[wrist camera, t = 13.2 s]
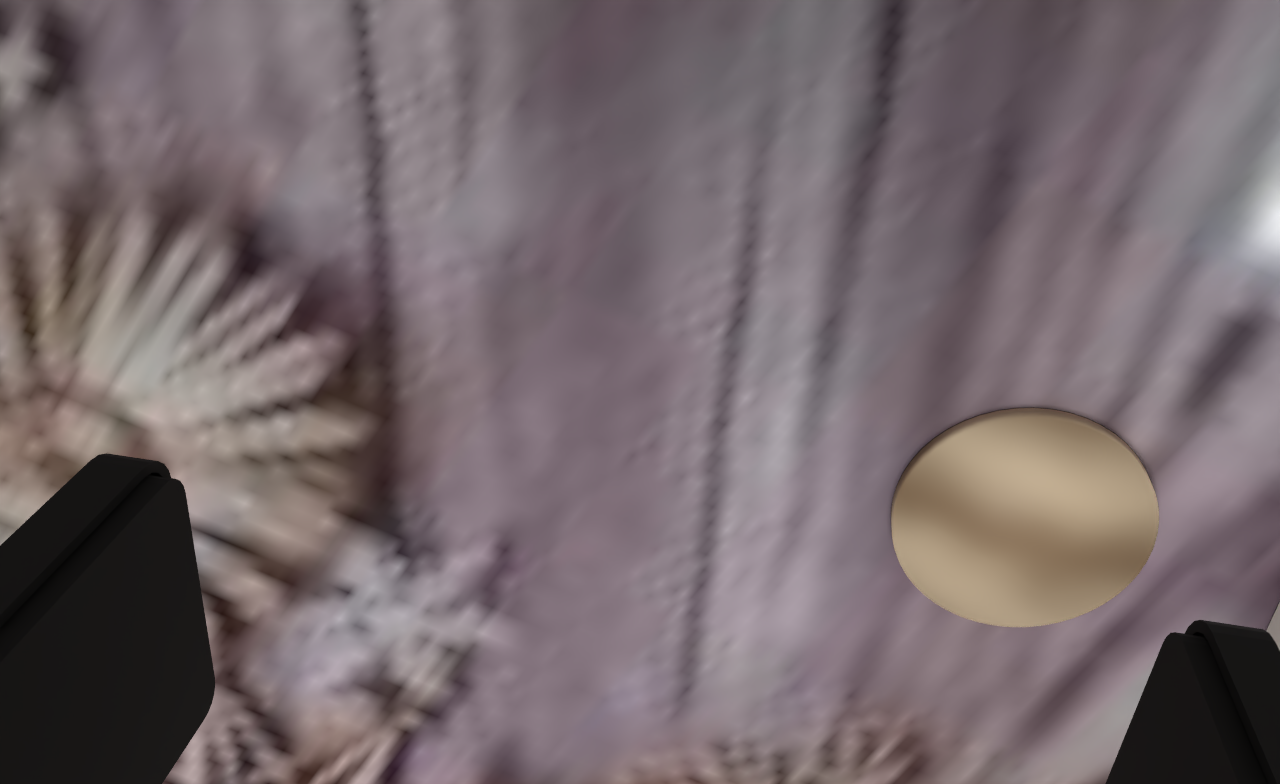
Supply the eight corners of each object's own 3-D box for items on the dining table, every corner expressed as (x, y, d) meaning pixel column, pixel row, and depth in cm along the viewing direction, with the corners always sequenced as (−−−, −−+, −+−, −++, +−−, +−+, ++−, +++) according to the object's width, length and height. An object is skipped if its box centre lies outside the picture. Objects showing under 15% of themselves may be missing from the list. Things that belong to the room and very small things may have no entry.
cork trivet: (917, 390, 43) (918, 401, 42) (1188, 428, 42) (1194, 439, 41) (871, 594, 48) (871, 606, 47) (1112, 631, 47) (1116, 644, 46)
